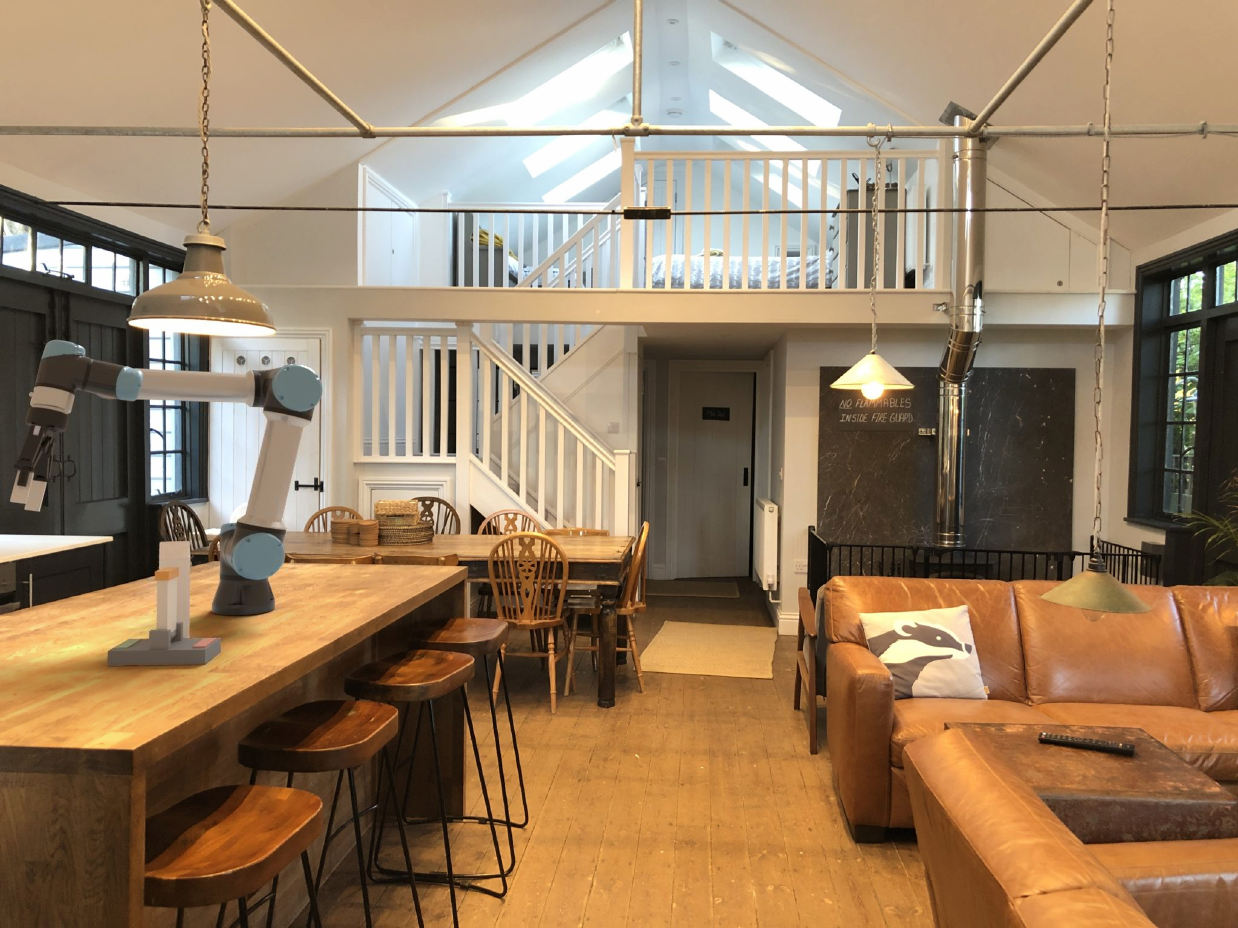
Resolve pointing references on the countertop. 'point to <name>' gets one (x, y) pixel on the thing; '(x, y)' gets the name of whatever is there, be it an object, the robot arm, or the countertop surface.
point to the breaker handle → (167, 598)
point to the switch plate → (165, 649)
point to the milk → (179, 577)
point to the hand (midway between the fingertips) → (25, 506)
